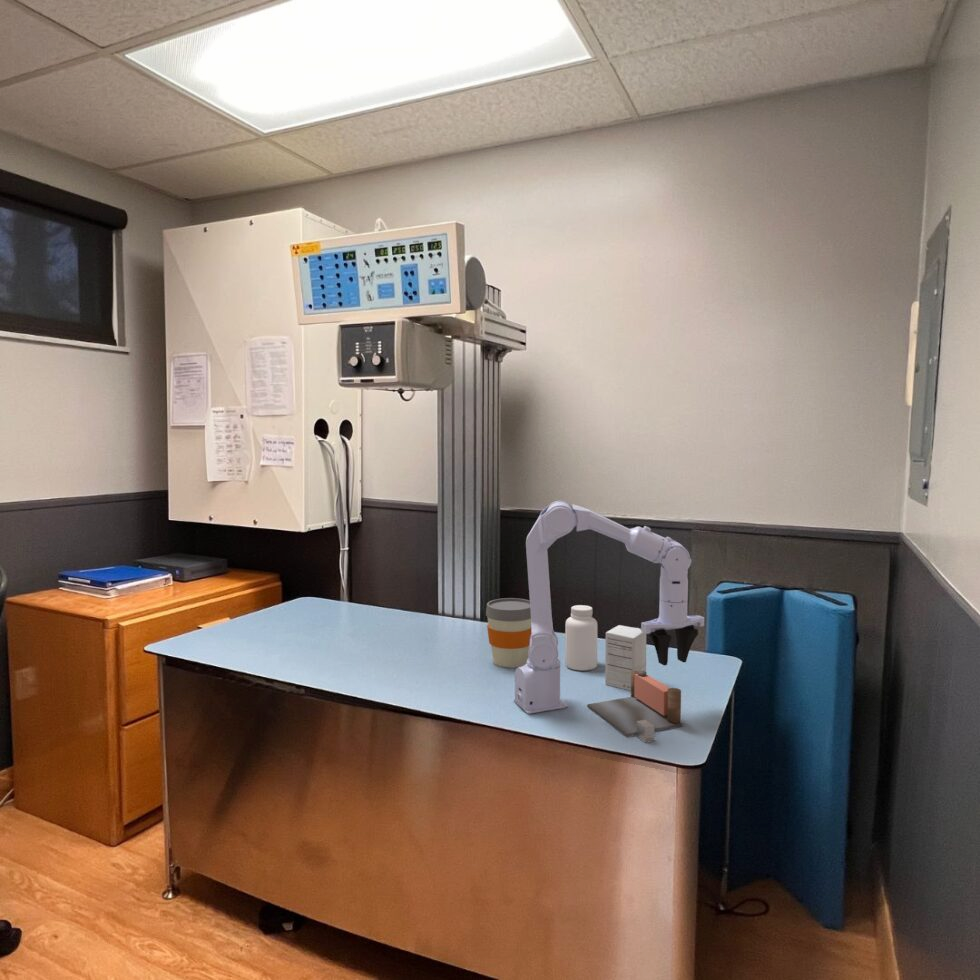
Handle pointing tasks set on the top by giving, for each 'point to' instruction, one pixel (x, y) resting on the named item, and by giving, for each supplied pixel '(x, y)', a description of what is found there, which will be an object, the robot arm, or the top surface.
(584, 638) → the pill bottle
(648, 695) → the rail
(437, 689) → the top surface
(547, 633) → the robot arm
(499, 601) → the reusable coffee cup
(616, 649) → the supplement box
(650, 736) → the block
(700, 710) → the top surface
